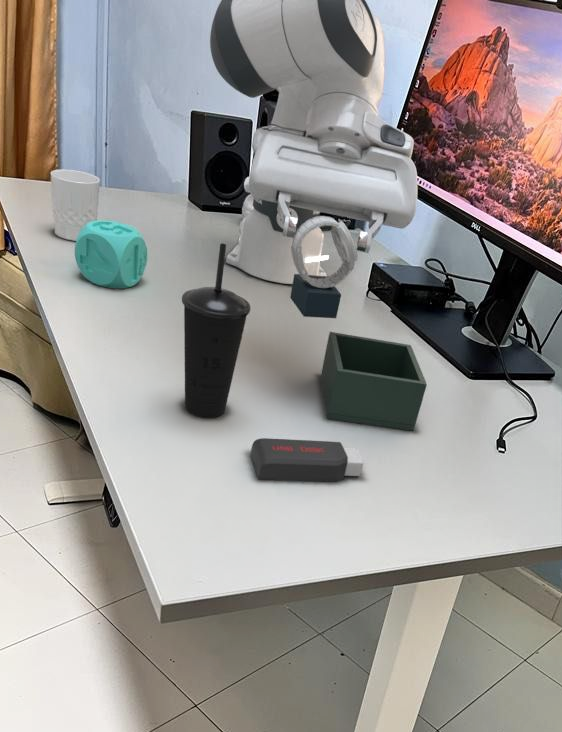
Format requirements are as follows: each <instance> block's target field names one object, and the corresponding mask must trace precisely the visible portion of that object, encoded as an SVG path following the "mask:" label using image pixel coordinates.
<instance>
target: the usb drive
mask: <svg viewBox="0 0 562 732" xmlns="http://www.w3.org/2000/svg"><path fill="white" fill-rule="evenodd" d="M250 456H251V459H252V464H253V466H254V470H255V473H256V476H257V479H258V480H264V481H265V480H266V481H298V482H300V481H301V482H330V483H331V482H338V481H342V480H344V479H345V476H346V477H347V476H350V477H360V476H361V475H362V470H363V465H364V461H363V460H362V458H361V455H360V453H359V451H358V449H357V448H355V447H344V446H343V444H342V442H341V441H327V440H310V439H309V440H307V439H288V438H267V437H266V438H265V437H263V438H257V439H255V440H254V441H253V443H252V445H251V449H250Z"/></svg>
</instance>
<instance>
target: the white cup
mask: <svg viewBox="0 0 562 732" xmlns="http://www.w3.org/2000/svg"><path fill="white" fill-rule="evenodd" d="M100 184H101V179H100V178H99V177H98V176H96V175H94V174H92V173H89V172H85V171H80V170H75V169H74V170H73V169H55V170H54V169H53V170H51V171H50V185H51V186H50V187H51V202H52V204H51V205H52V206H51V207H52V217H53V221H54V234H55V235H56V236H57V237H59V238H61V239H65V240H67V241H73V242H76V240H77V237H78V235H79V233H80V231H81V229H82V228H83V227H84V226H85V225H86V224H87V223H89V222H91V221H98V211H99V198H100Z"/></svg>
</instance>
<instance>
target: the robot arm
mask: <svg viewBox="0 0 562 732" xmlns="http://www.w3.org/2000/svg"><path fill="white" fill-rule="evenodd" d="M209 48H210V54H211V58H212V61H213V64H214V67H215V69H216V71H217V72H218V74H219V75H220V77H221V78H222V79H223V81H225V82H226V83H227V84H228V85H229V86H230V87H231V88H233V89H234V90H236V91H237V92H239V93H240V94H242V95H244V96H246V97H248V98H251V99H254V98H255V99H256V98H257V97H260V96H263V95H266V94H268V93H270V92H273V91H275V90H276V91H277V92H278V96H277V97H278V98H277V101H276V106H275V109H274V112H273V116H272V119H271V122H270V123H268V125H264V126H263V125H262V126H260V127H258V128H257V129H256V130H255V131H254V133H253V137H252V143H251V147H252V150H253V151H252V152H254V156H253V160H252V163H251V168H250V170H249V171H250V172H249V176H250V178H249V190H250V192H251V193H250V192H249V193H250V194H252V195H253V198H254V199H253V207H254V209H253V210H252V212H251V213H250V214H248V215H247V216H246V218H243V217H242V220H241V221H240V222H239V228H238V233H239V234H240V235H239V237H238V239H237V244H236V246H235V247H233V249H232V250H231V251H230V253H228V255H226V257H225V263H227V264H228V265H231V266H233V267H236V268H238V269H240V270H242V271H243V272H245V273H247V274H249V275H251V276H253V277H256V278H258V279H262V280H264V281H270V282H273V283H277V284H279V283H280V284H286V285H292V284H293V279H294V274H299V273H298V271H297V269H296V267H295V264H294V261H293V257H292V252H291V246H292V242H293V238H294V235H295V233H296V231H297V230H298V228H299V227H300V226H301V225H302V224H303V223H305V222H306V221H307V220H309V219H312V218H313V217H317V216H321V215H320V214H321V213H322V214H323V213H324V214H327V215H332V216H338V217H341V218H340V219H342V218H343V219H345V217H347V218H349V219H354V220H357V221H363V222H367V223H368V231H360V232H359V234H358V238H357V242H356V244H357V245H356V250H357V252H359V253H360V252H361V253H366V254H369V253H370V250H371V245H372V241H373V239H374V238H375V237H376V235H378V233H379V232H380V231H381V228H382V226H387V227H391V228H395V229H400V230H403V229H405V228H406V227H408V226H409V225H410V224H411V223H412V221H413V219H414V217H415V215H416V212H417V207H418V206H417V205H418V172H417V167H416V165H415V162H414V161H413V160H412V154H413V150H414V145H415V141H414V138H413V137H412V136H411V135H409V134H408V133H406V132H405V131H403V130H401V129H399V128H397V127H395V126H393V125H392V124H390V123H389V122H387V121H385V120H384V119H382V118H381V117H380V113H379V104H380V102H381V100H382V97H383V93H384V88H385V87H384V86H385V77H386V76H385V75H386V43H385V34H384V29H383V26H382V24H381V22H380V20H379V18H378V17H377V15H376V14H375V13H374V12H373V11H372V10H371V8H370V7H369V4H368V3H367V1H366V0H221V1H220V2H219V4H218V6H217V9H216V11H215V13H214V17H213V19H212V23H211V27H210V35H209ZM345 221H346V223H344V224H345V225H346V227H347V228H349V227H350V226H351V220H350V221H347V220H346V219H345ZM305 228H306V227H305ZM331 228H332V225H331V226H329V225H324V226H321V227H317V228H316V229H314V230H311V232H309V233H308V234H307V235H305V238H304V239H303V241H301V242H302V243H301V246H302V256H303V262H304V266H305V269H306V271H307V272H308V275H315V276H326V277H328V274H327V273H326V271H325V269H324V268H323V267H322V266H321V261H327V260H329V257H330V256H329V255H328V254H327V255H322V252H323V245H324V238H325V234H324V233H323V231H322V230H331ZM299 229H300V228H299ZM306 229H307V228H306Z"/></svg>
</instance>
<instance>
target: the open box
mask: <svg viewBox="0 0 562 732" xmlns="http://www.w3.org/2000/svg"><path fill="white" fill-rule="evenodd" d="M418 361H419V360H418V359H417V357H416V354H415V352H414V349H413V346H412V345H411V344H407V343H401V342H394V341H388V340H383V339H376V338H370V337H364V336H359V335H353V334H347V333H340V332H334V331H329V334H328V339H327V344H326V348H325V353H324V359H323V362H322V363H323V364H322V368H321V373H320V382H321V388H322V394H323V401H324V408H325V414H326V419H327V420H333V421H341V422H348V423H354V424H362V425H368V426H375V427H382V428H390V429H397V430H402V431H403V430H405V431H411V432H414V430H415V427H416V424H417V420H418V417H419V413H420V410H421V406H422V402H423V399H424V396H425V394H426V393H425V392H426V389H427V386H428V384H427V381H426V378H425V376H424V373H423V371H422V369H421V366H420V364H419V362H418Z"/></svg>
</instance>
